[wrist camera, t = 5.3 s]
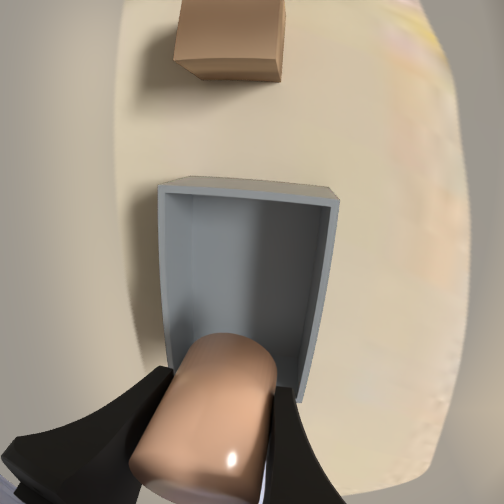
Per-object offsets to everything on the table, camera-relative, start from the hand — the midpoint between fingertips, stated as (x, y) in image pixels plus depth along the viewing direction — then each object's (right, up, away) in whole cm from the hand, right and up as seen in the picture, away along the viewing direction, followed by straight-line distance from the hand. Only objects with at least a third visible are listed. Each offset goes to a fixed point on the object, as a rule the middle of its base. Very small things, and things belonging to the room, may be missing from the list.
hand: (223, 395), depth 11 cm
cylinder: (0, +1, +1) cm, 2 cm away
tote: (+1, +4, +6) cm, 7 cm away
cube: (+1, +16, +2) cm, 16 cm away
